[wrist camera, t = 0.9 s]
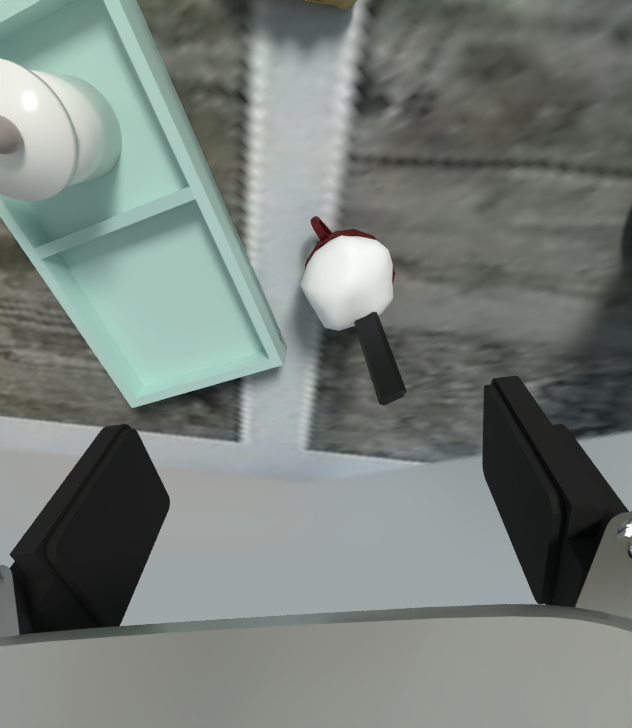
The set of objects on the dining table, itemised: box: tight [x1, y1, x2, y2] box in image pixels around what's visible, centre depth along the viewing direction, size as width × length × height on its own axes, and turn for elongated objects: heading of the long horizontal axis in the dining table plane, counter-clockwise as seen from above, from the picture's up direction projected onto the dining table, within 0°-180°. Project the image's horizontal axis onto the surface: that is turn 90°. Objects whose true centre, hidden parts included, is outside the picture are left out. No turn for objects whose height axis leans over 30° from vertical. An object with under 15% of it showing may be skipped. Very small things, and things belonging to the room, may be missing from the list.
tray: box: [0, 0, 287, 408], centre depth 31 cm, size 14×26×3 cm, turn 19°
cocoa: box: [300, 216, 406, 405], centre depth 28 cm, size 10×6×12 cm, turn 10°
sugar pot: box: [0, 58, 122, 201], centre depth 24 cm, size 7×7×8 cm
